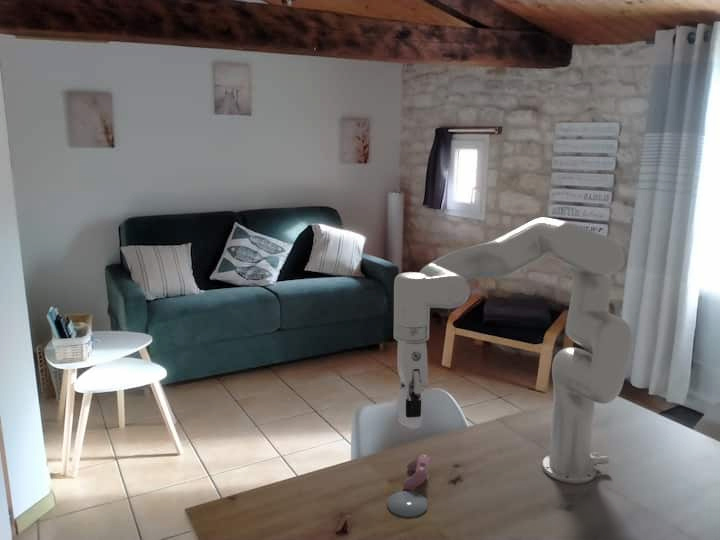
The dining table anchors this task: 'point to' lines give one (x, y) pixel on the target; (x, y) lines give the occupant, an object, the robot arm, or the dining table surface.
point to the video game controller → (417, 471)
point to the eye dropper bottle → (407, 422)
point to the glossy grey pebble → (407, 504)
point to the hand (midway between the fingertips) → (410, 409)
